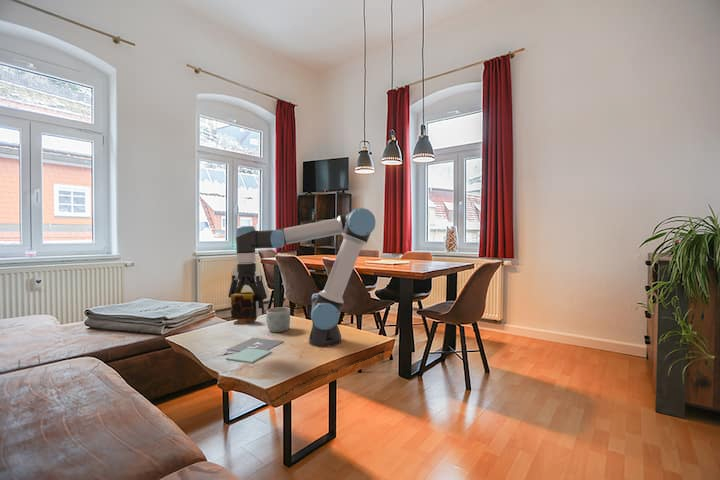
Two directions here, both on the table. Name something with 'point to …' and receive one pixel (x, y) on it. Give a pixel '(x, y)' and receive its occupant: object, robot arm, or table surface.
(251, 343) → the gray mat
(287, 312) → the planter
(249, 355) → the pad
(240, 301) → the candle
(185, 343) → the table surface
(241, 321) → the stuffed squirrel
